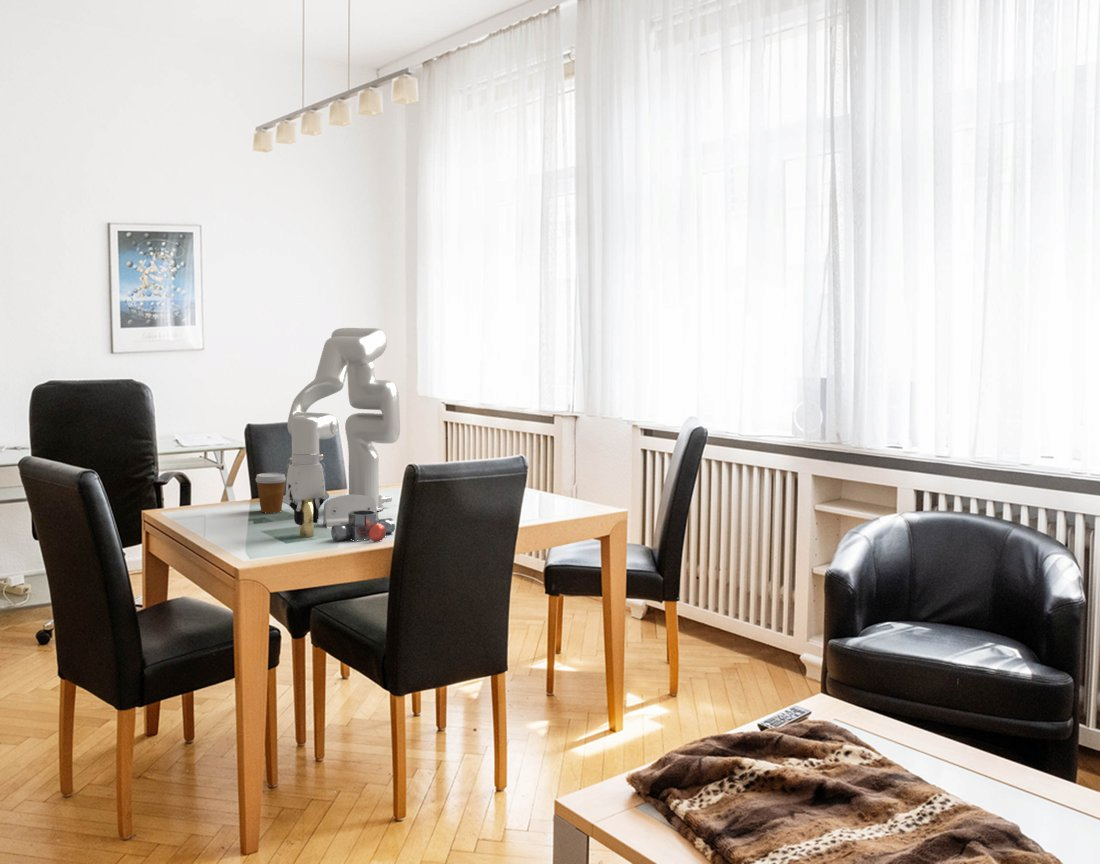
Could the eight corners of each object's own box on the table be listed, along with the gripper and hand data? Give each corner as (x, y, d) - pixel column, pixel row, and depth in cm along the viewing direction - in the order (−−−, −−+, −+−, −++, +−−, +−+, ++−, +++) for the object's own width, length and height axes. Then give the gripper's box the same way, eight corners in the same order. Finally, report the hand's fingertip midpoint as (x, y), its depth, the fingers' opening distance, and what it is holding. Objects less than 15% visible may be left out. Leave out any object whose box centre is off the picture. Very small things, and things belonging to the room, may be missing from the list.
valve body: (383, 530, 289) (383, 507, 288) (405, 537, 280) (405, 513, 279) (328, 538, 277) (327, 514, 276) (349, 546, 268) (348, 520, 267)
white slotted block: (325, 528, 292) (323, 494, 294) (322, 530, 296) (320, 497, 298) (381, 524, 299) (378, 491, 301) (377, 526, 303) (374, 494, 305)
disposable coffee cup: (258, 515, 309) (257, 477, 308) (253, 510, 318) (253, 473, 317) (289, 513, 313) (288, 476, 312) (284, 508, 322) (283, 472, 321)
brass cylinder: (309, 533, 283) (309, 492, 282) (316, 536, 280) (315, 494, 279) (296, 535, 281) (296, 494, 279) (303, 538, 278) (302, 496, 276)
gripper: (326, 455, 286) (326, 518, 288) (271, 460, 275) (273, 524, 277) (338, 458, 281) (339, 522, 283) (284, 463, 270) (285, 529, 272)
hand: (306, 522), depth 280 cm, fingers closed on brass cylinder, 4 cm apart
